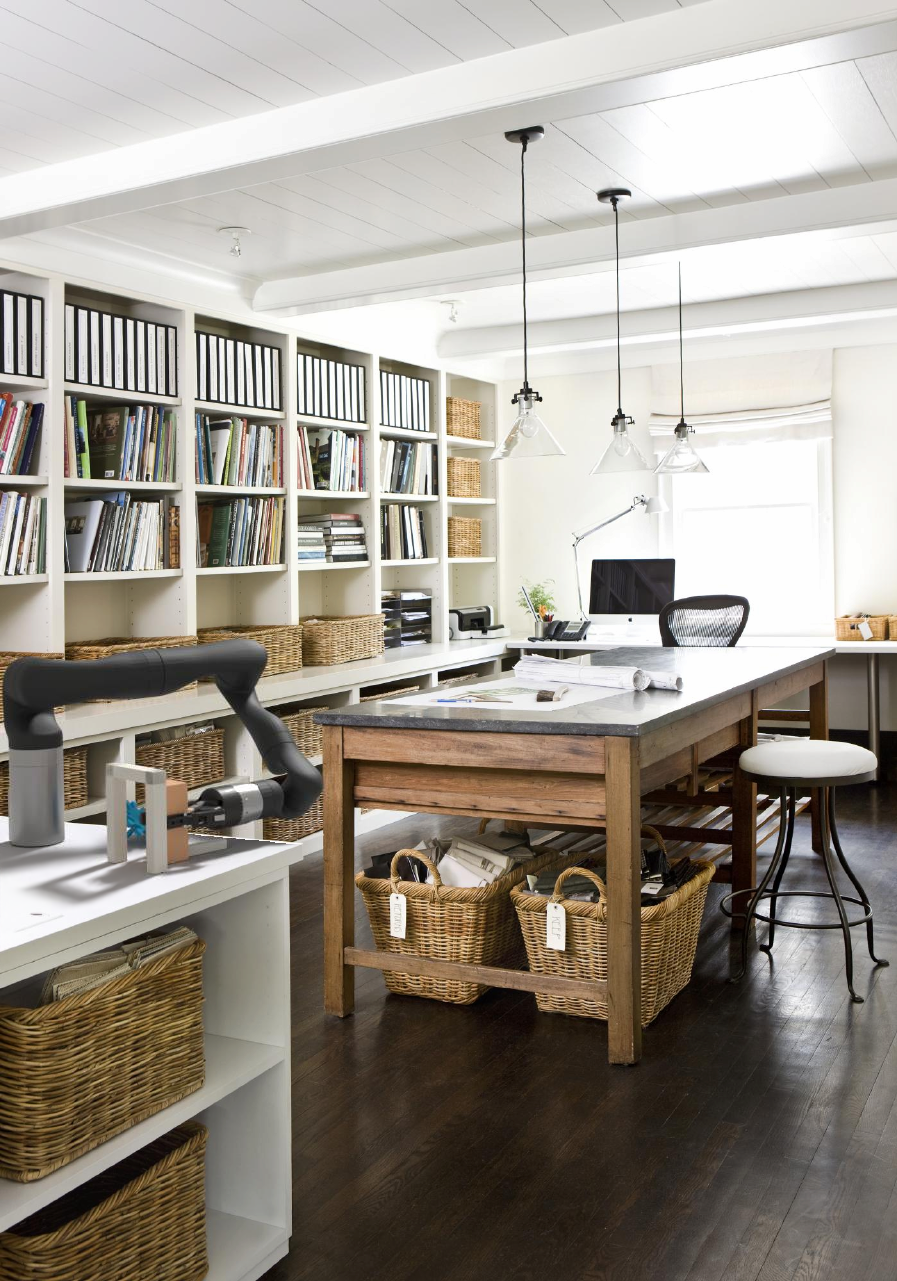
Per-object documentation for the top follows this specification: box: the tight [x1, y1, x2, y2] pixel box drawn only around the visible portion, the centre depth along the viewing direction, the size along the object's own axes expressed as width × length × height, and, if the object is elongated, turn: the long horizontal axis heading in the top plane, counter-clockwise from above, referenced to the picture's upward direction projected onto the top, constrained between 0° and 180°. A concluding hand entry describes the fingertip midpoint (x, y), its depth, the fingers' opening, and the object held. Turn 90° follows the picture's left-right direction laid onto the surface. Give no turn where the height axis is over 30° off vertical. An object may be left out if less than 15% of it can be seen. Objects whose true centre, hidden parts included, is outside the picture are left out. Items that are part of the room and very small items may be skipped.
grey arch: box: [105, 761, 168, 875], centre depth 189 cm, size 13×2×16 cm, turn 50°
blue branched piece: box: [126, 799, 146, 842], centre depth 207 cm, size 11×6×10 cm
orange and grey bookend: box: [144, 779, 228, 865], centre depth 197 cm, size 5×14×13 cm, turn 137°
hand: (151, 821), depth 191 cm, fingers closed on orange and grey bookend, 5 cm apart
